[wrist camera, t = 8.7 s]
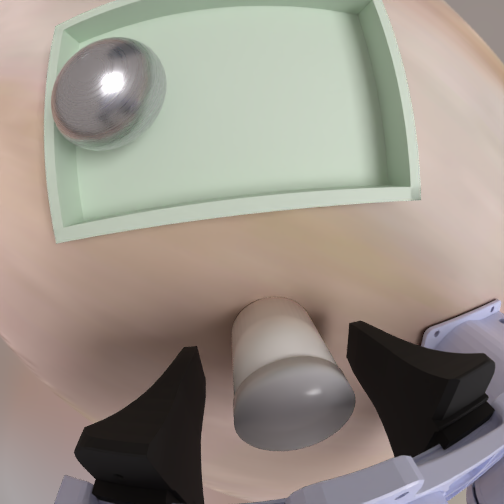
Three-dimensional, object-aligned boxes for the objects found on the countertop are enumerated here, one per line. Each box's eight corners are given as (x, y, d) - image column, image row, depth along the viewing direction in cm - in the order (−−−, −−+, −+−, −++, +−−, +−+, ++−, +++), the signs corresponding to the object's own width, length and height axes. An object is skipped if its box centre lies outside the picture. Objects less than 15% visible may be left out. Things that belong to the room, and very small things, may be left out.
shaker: (311, 290, 13) (362, 361, 8) (312, 358, 14) (347, 437, 9) (224, 301, 13) (224, 386, 7) (236, 369, 14) (242, 457, 8)
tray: (362, 11, 10) (379, -6, 7) (395, 196, 12) (420, 200, 10) (73, 41, 9) (55, 26, 7) (79, 233, 12) (56, 243, 9)
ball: (171, 58, 10) (162, 3, 5) (173, 148, 11) (159, 123, 7) (81, 78, 9) (39, 39, 5) (79, 165, 10) (25, 157, 6)
